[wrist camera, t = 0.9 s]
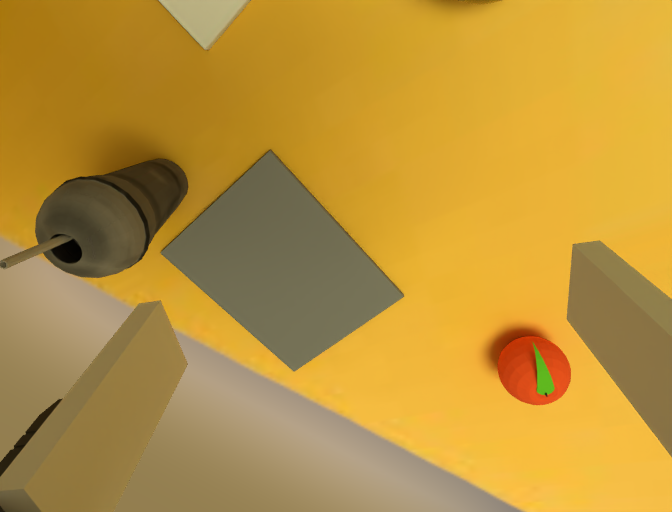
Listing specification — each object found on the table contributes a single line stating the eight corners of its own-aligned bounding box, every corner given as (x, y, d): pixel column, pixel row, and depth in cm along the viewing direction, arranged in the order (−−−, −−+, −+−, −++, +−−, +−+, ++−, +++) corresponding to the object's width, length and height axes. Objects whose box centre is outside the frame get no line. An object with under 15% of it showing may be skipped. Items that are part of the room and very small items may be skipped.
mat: (162, 250, 44) (160, 252, 44) (270, 149, 39) (269, 150, 39) (294, 368, 50) (294, 371, 50) (403, 294, 45) (403, 296, 45)
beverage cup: (140, 221, 43) (-17, 344, 25) (116, 148, 40) (-85, 228, 22) (210, 213, 42) (100, 334, 24) (190, 139, 39) (47, 214, 21)
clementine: (483, 322, 46) (504, 366, 40) (550, 308, 45) (582, 351, 39) (494, 378, 49) (514, 427, 43) (556, 366, 48) (586, 414, 42)
